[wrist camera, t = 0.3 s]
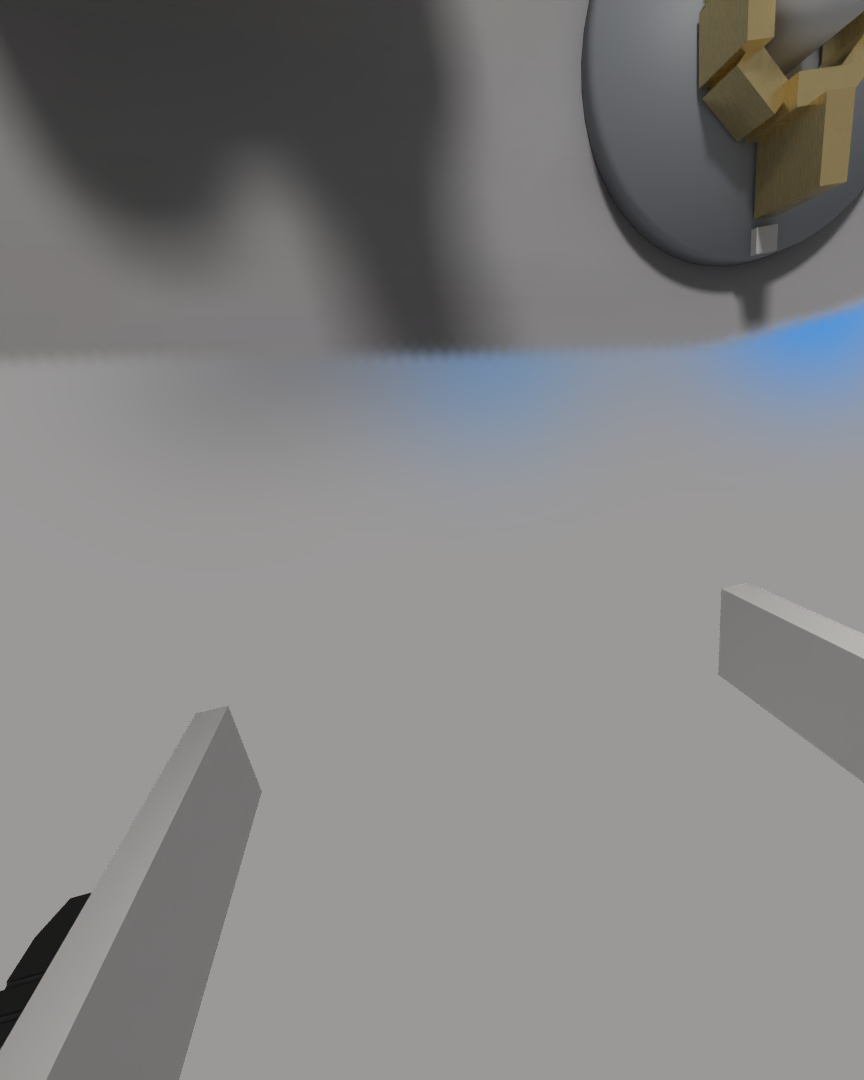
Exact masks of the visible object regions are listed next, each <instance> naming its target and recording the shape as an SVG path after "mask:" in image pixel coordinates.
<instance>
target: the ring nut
mask: <svg viewBox="0 0 864 1080" xmlns="http://www.w3.org/2000/svg"><path fill="white" fill-rule="evenodd" d="M703 3H704V5H705V7H704V9H703V10H702V11H701V12H700V13H699V89H701V88H708V87H710V88H709V89H708V91H707V92H706V93H705V95H704V96H703V98H702V99H703V101H704V102H705V103H706V104H707V106H708V107H709V108H710V109H711V110H712V112H713V113H714V114H715V115H716V117H717V118H718V119H719V120H720V121H721V123H722V124H723V125H724V126H725V128H726V129H727V130H728V131H729V132H730V134H731V135H732V136H733V137H734V139H735V140H736V141H737V142H738V141H739V140H741V139H742V138H743V137H745V145H747V144H753V143H757V154H756V179H755V205H754V220H755V219H761V218H767V217H772V216H778V215H780V214H782V213H784V212H786V211H788V210H790V209H792V208H794V207H796V206H798V205H800V204H802V203H804V202H806V201H808V200H810V199H812V198H814V197H816V196H819V195H821V194H823V193H825V192H827V191H829V190H831V189H833V188H835V187H837V186H839V185H841V184H843V183H845V182H847V176H848V165H849V154H850V144H851V133H852V123H853V112H854V101H855V91H856V87H857V86H858V84H859V83H860V81H861V80H862V79H863V77H864V11H863V12H862V13H861V14H860V15H858V16H857V17H856V18H855V19H853V20H852V21H851V22H850V23H849V24H847V25H846V26H845V27H844V28H842V29H841V30H840V31H839V32H838V33H836V34H835V35H834V36H833V37H831V38H830V39H829V40H828V41H827V42H825V43H824V44H823V50H822V63H821V65H820V67H819V68H818V69H812V70H805V71H799V72H798V73H796V74H795V75H794V76H793V77H791V78H790V79H789V80H788V79H787V78H786V76H785V75H784V74H783V72H782V71H781V70H780V68H779V67H778V66H777V64H776V63H775V62H774V60H773V59H772V57H771V56H770V55H769V53H768V52H767V51H766V49H765V48H764V46H765V45H766V44H767V43H768V42H769V41H770V40H772V39H773V38H774V31H775V10H776V0H704V1H703Z"/></svg>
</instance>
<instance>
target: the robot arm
mask: <svg viewBox="0 0 864 1080" xmlns="http://www.w3.org/2000/svg"><path fill="white" fill-rule="evenodd" d="M720 619H721V620H720V644H719V645H720V646H719V672H718V674H719V675H720V676H721V677H722V678H724V679H725V680H727V681H728V682H729V683H730V684H732V685H733V686H735V687H736V688H737V689H738V690H740V691H741V692H743V693H744V694H745V695H747V696H748V697H749V698H751V699H752V700H753V701H755V702H756V703H757V704H759V705H760V706H761V707H763V708H764V709H765V710H767V711H768V712H769V713H771V714H772V715H773V716H775V717H776V718H778V719H779V720H780V721H782V722H783V723H784V724H786V725H787V726H788V727H790V728H791V729H792V730H794V731H795V732H796V733H798V734H799V735H801V736H802V737H803V738H804V739H806V740H807V741H809V742H810V743H811V744H813V745H814V746H815V747H817V748H818V749H819V750H821V751H822V752H823V753H825V754H826V755H827V756H829V757H830V758H831V759H833V760H834V761H835V762H837V763H838V764H839V765H841V766H842V767H843V768H845V769H846V770H847V771H849V772H850V773H851V774H853V775H854V776H855V777H857V778H858V779H860V780H861V781H862V782H864V634H862V633H860V632H858V631H856V630H853V629H851V628H849V627H846V626H844V625H842V624H840V623H838V622H835V621H833V620H831V619H829V618H826V617H824V616H822V615H820V614H817V613H815V612H813V611H811V610H808V609H806V608H804V607H801V606H799V605H797V604H795V603H792V602H790V601H788V600H786V599H783V598H781V597H779V596H777V595H774V594H772V593H770V592H768V591H765V590H763V589H761V588H759V587H756V586H754V585H752V584H749V583H743V584H740V585H735V586H731V587H727V588H722V590H721V617H720ZM260 795H261V789H260V786H259V783H258V781H257V778H256V776H255V774H254V771H253V768H252V766H251V763H250V761H249V758H248V755H247V753H246V750H245V748H244V745H243V743H242V740H241V738H240V735H239V733H238V730H237V728H236V725H235V722H234V720H233V717H232V715H231V712H230V710H229V707H228V706H226V707H221V708H217V709H213V710H209V711H205V712H200V713H196V714H195V716H194V718H193V720H192V721H191V723H190V725H189V726H188V728H187V730H186V732H185V733H184V735H183V737H182V739H181V740H180V742H179V744H178V745H177V747H176V749H175V751H174V753H173V754H172V756H171V758H170V759H169V761H168V763H167V764H166V766H165V768H164V770H163V771H162V773H161V775H160V777H159V778H158V780H157V782H156V783H155V785H154V787H153V788H152V790H151V792H150V794H149V795H148V797H147V799H146V800H145V802H144V804H143V806H142V807H141V809H140V811H139V812H138V814H137V816H136V818H135V819H134V821H133V823H132V825H131V826H130V828H129V830H128V832H127V833H126V835H125V837H124V838H123V840H122V842H121V843H120V845H119V847H118V849H117V850H116V852H115V854H114V855H113V857H112V859H111V861H110V863H109V864H108V866H107V867H106V869H105V871H104V873H103V874H102V876H101V878H100V879H99V881H98V883H97V885H96V887H95V888H94V890H93V892H92V893H89V894H85V895H81V896H77V897H74V898H71V899H70V900H69V901H68V902H67V903H66V904H65V905H64V906H63V907H62V908H61V909H60V911H59V912H58V913H57V914H56V915H55V916H54V917H53V918H52V919H51V921H50V922H49V923H48V924H47V925H46V926H45V927H44V928H43V929H42V930H41V931H40V933H39V934H38V935H37V936H36V937H35V938H34V940H33V941H32V943H31V945H30V946H29V948H28V949H27V951H26V952H25V954H24V955H23V957H22V959H21V960H20V962H19V963H18V965H17V966H16V968H15V970H14V971H13V973H12V975H11V976H10V977H9V979H8V981H7V986H6V988H5V990H3V991H0V1080H179V1077H180V1074H181V1070H182V1067H183V1063H184V1059H185V1056H186V1053H187V1050H188V1046H189V1043H190V1039H191V1036H192V1032H193V1029H194V1025H195V1021H196V1018H197V1014H198V1011H199V1008H200V1004H201V1001H202V997H203V994H204V990H205V987H206V983H207V980H208V976H209V973H210V969H211V965H212V962H213V959H214V955H215V952H216V948H217V945H218V941H219V938H220V934H221V931H222V927H223V924H224V921H225V917H226V913H227V910H228V907H229V903H230V900H231V896H232V893H233V889H234V886H235V882H236V879H237V875H238V872H239V868H240V865H241V861H242V858H243V854H244V851H245V847H246V844H247V841H248V837H249V833H250V830H251V826H252V823H253V819H254V816H255V813H256V809H257V806H258V802H259V799H260Z"/></svg>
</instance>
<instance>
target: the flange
mask: <svg viewBox="0 0 864 1080" xmlns="http://www.w3.org/2000/svg"><path fill="white" fill-rule="evenodd" d="M703 1H704V0H589V5H588V10H587V16H586V22H585V27H584V36H583V48H582V60H581V70H582V98H583V106H584V115H585V122H586V127H587V131H588V136H589V140H590V145H591V149H592V152H593V155H594V158H595V161H596V164H597V167H598V170H599V172H600V174H601V176H602V179H603V181H604V183H605V185H606V187H607V189H608V191H609V193H610V195H611V197H612V198H613V200H614V201H615V203H616V205H617V206H618V208H619V209H620V211H621V212H622V214H623V215H624V216H625V217H626V219H627V220H628V221H629V222H630V223H631V224H632V226H633V227H634V228H635V229H636V230H637V231H638V232H639V233H640V234H641V235H643V236H644V237H645V238H646V239H647V240H648V241H649V242H650V243H652V244H653V245H655V246H656V247H658V248H660V249H661V250H663V251H664V252H666V253H667V254H670V255H672V256H674V257H677V258H679V259H682V260H684V261H687V262H691V263H696V264H700V265H708V266H730V265H739V264H743V263H747V262H751V261H755V260H758V259H761V258H763V257H766V256H768V255H771V254H773V253H776V252H778V251H781V250H783V249H786V248H788V247H790V246H793V245H795V244H797V243H800V242H801V241H803V240H805V239H806V238H808V237H810V236H811V235H813V234H815V233H816V232H818V231H819V230H821V229H822V228H823V227H824V226H826V225H827V224H828V223H830V222H831V221H832V220H833V219H835V218H836V217H837V216H838V215H839V214H840V213H841V212H842V211H843V210H844V209H845V208H846V207H847V206H848V205H849V204H851V203H852V202H853V201H854V199H855V198H856V197H857V196H858V195H859V193H860V192H861V191H862V190H863V189H864V77H863V79H862V80H861V81H860V83H859V84H858V86H857V87H856V91H855V101H854V112H853V123H852V133H851V144H850V154H849V165H848V176H847V182H845V183H843V184H841V185H839V186H837V187H835V188H833V189H831V190H829V191H827V192H825V193H823V194H821V195H819V196H816V197H814V198H812V199H810V200H808V201H806V202H804V203H802V204H800V205H798V206H796V207H794V208H792V209H790V210H788V211H786V212H784V213H782V214H780V215H778V216H772V217H767V218H761V219H755V220H754V205H755V179H756V154H757V143H753V144H747V145H745V137H743V138H742V139H741V140H739V141H738V142H737V141H736V140H735V139H734V137H733V136H732V135H731V134H730V132H729V131H728V130H727V129H726V128H725V126H724V125H723V124H722V123H721V121H720V120H719V119H718V118H717V117H716V115H715V114H714V113H713V112H712V110H711V109H710V108H709V107H708V106H707V104H706V103H705V102H704V101H703V99H702V98H703V96H704V95H705V93H706V92H707V91H708V89H709V88H710V87H708V88H701V89H699V13H700V12H701V11H702V10H703V9H704V7H705V5H704V3H703ZM863 11H864V0H776V10H775V31H774V38H773V39H772V40H770V41H769V42H768V43H767V44H766V45H765V46H764V48H765V49H766V51H767V52H768V53H769V55H770V56H771V57H772V59H773V60H774V62H775V63H776V64H777V66H778V67H779V68H780V70H781V71H782V72H783V74H784V75H785V76H786V78H787V79H788V80H789V79H790V78H791V77H793V76H794V75H795V74H796V73H798V72H799V71H805V70H812V69H818V68H819V67H820V65H821V63H822V50H823V44H824V43H825V42H827V41H828V40H829V39H830V38H831V37H833V36H834V35H835V34H836V33H838V32H839V31H840V30H841V29H842V28H844V27H845V26H846V25H847V24H849V23H850V22H851V21H852V20H853V19H855V18H856V17H857V16H858V15H860V14H861V13H862V12H863Z"/></svg>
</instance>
